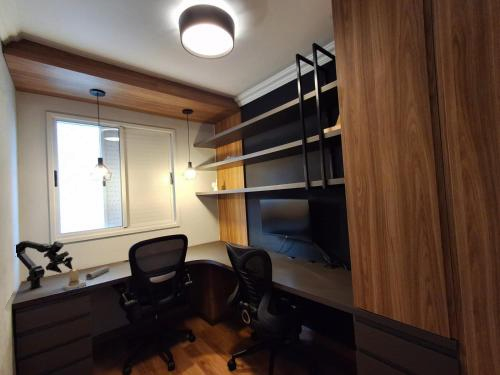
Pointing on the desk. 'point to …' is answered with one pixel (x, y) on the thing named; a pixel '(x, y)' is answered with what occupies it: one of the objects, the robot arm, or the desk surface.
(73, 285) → the housing
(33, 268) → the robot arm
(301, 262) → the desk surface
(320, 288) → the desk surface
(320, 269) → the desk surface
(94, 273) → the tube
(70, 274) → the cover
